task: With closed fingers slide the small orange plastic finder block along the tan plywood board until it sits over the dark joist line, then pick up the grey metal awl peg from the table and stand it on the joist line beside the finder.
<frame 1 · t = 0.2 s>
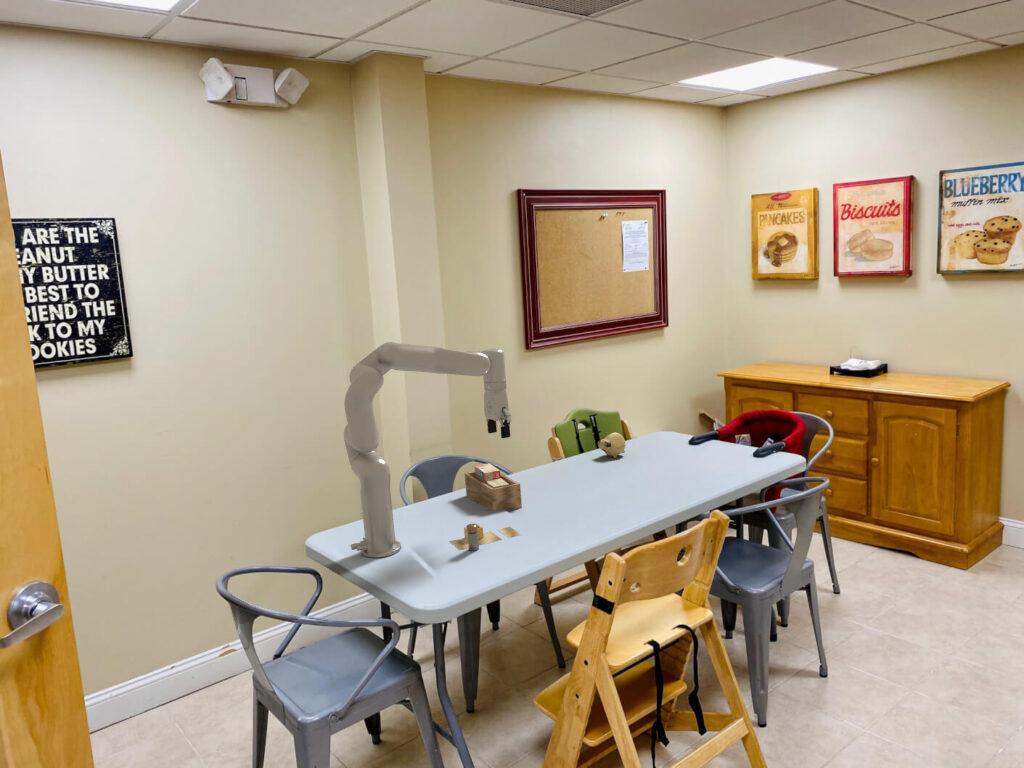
hand: (499, 435, 258), 31 cm above the table, fingers open, 9 cm apart
stack of blocks: (493, 502, 286), resting in block caddy
board: (486, 541, 246), on the table
toy pig: (612, 456, 335), on the table
block caddy: (493, 501, 286), on the table
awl: (474, 552, 237), on the table
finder: (474, 537, 247), point 1 cm above the table, touching board
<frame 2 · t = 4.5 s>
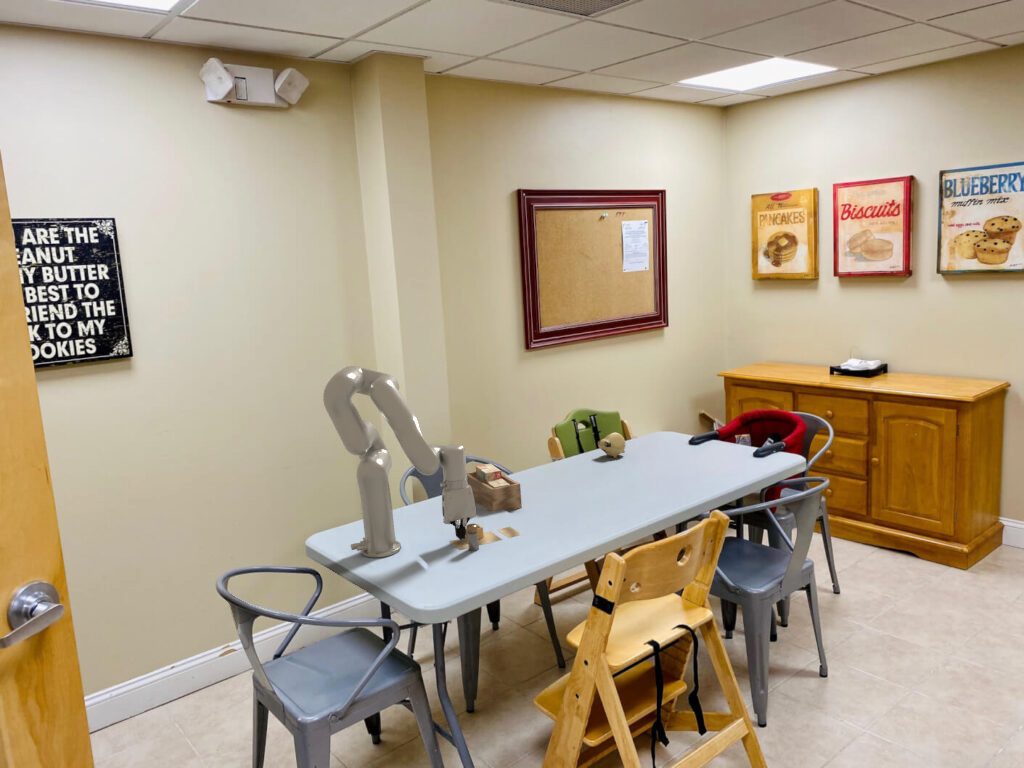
hand: (461, 537, 244), 2 cm above the table, fingers closed
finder: (474, 537, 247), point 1 cm above the table, touching board, gripper
everything else where it was.
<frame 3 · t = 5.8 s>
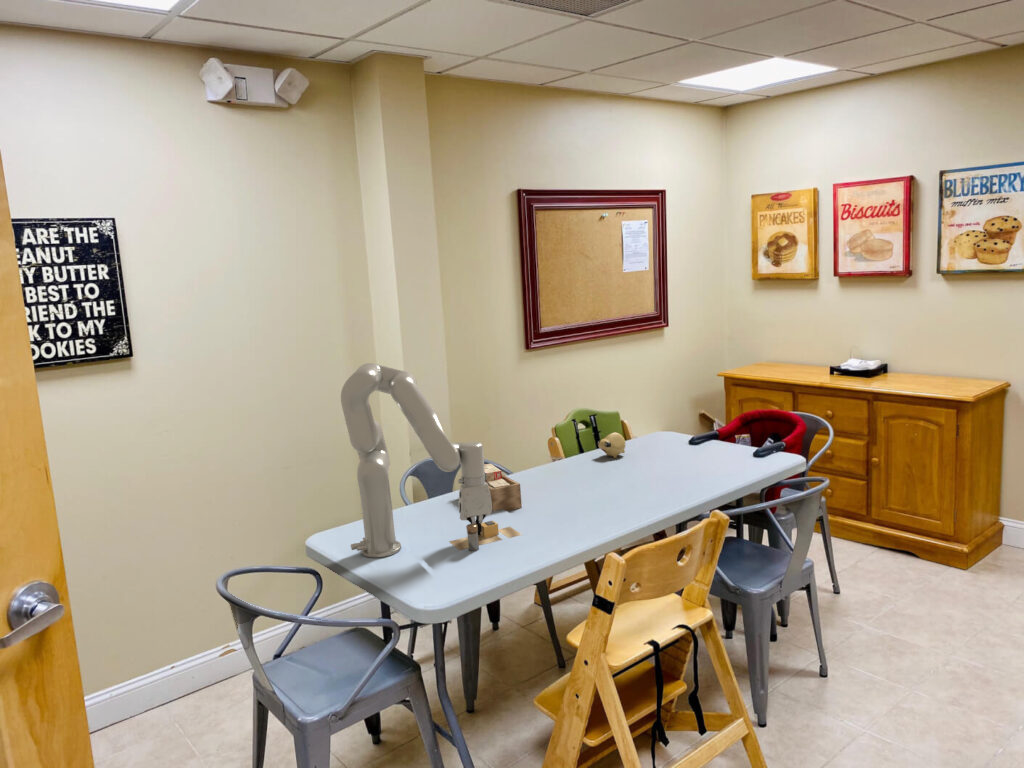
hand: (476, 534, 247), 2 cm above the table, fingers closed
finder: (489, 534, 249), point 1 cm above the table, touching board, gripper
everything else where it was.
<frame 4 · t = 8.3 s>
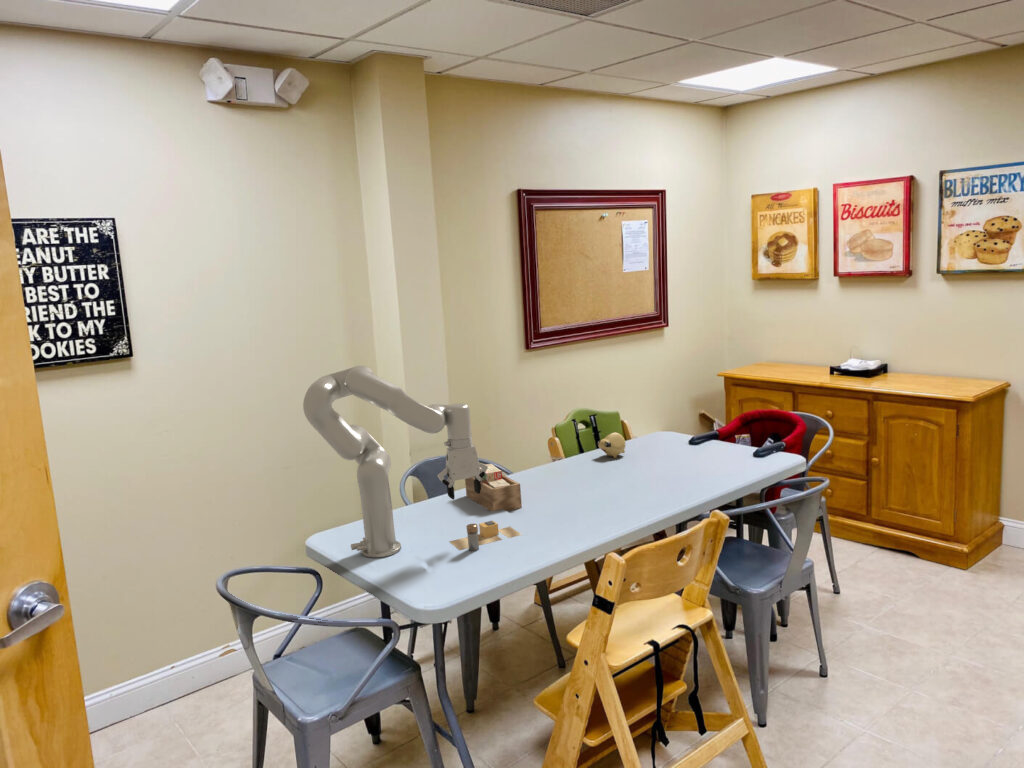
hand: (464, 495, 243), 16 cm above the table, fingers open, 8 cm apart
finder: (489, 534, 249), point 1 cm above the table, touching board
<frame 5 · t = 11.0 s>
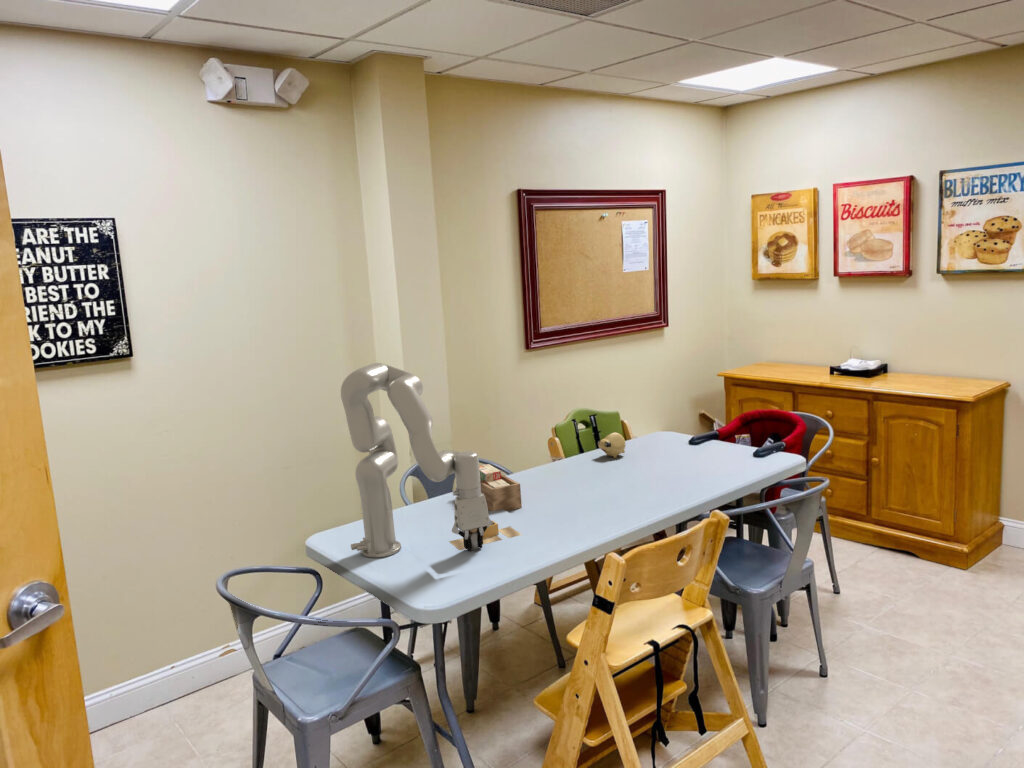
hand: (473, 547, 237), 2 cm above the table, fingers closed on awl, 3 cm apart
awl: (474, 552, 237), on the table, touching gripper
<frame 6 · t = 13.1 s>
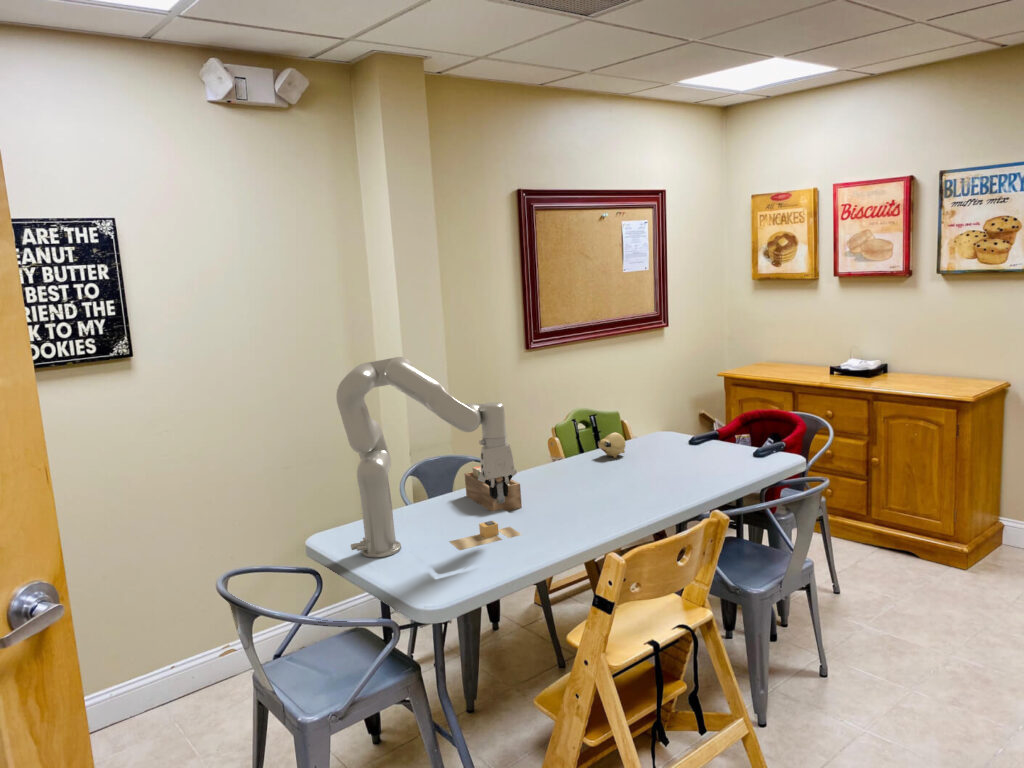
hand: (499, 496, 244), 15 cm above the table, fingers closed on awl, 3 cm apart
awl: (500, 502, 244), point 13 cm above the table, touching gripper
when the fingers open (4 cm above the table, at t = 15.1 s): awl drops 1 cm, resting on board.
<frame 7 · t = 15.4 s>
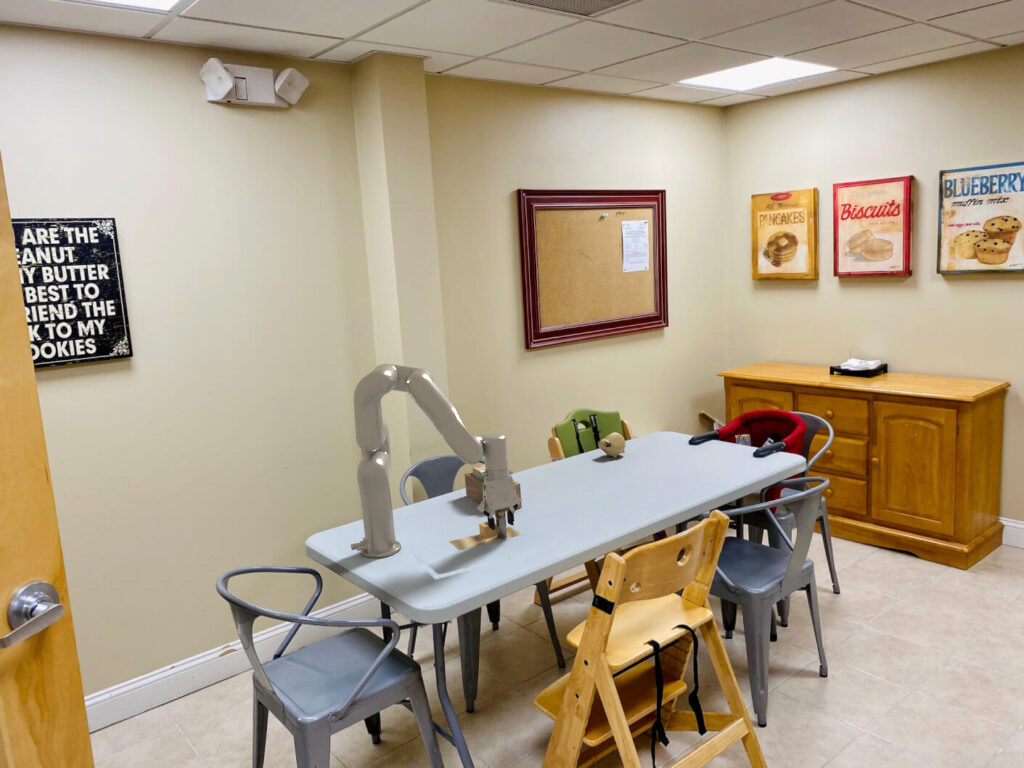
hand: (501, 526, 245), 5 cm above the table, fingers open, 6 cm apart
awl: (502, 536, 246), point 1 cm above the table, touching board
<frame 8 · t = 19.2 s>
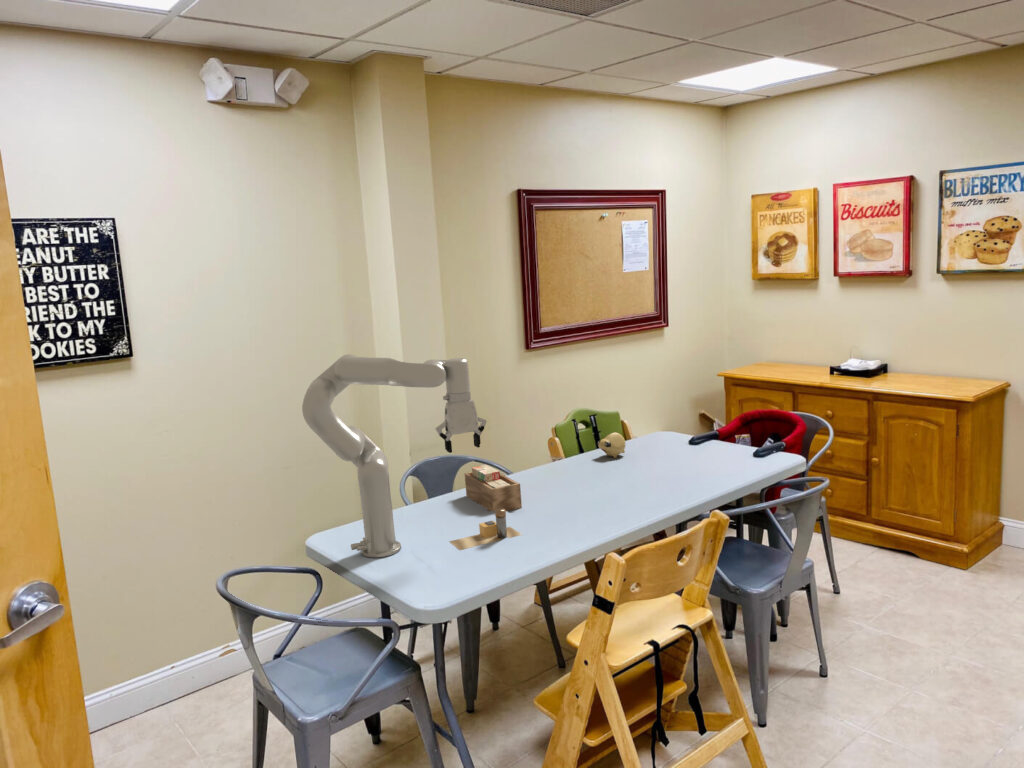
hand: (463, 449, 244), 30 cm above the table, fingers open, 9 cm apart
at the end: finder inside the target area (2.1 cm from its centre), point 1.2 cm above the table; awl 0.2 cm from the target spot, point 1.2 cm above the table; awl tilted 0° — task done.
